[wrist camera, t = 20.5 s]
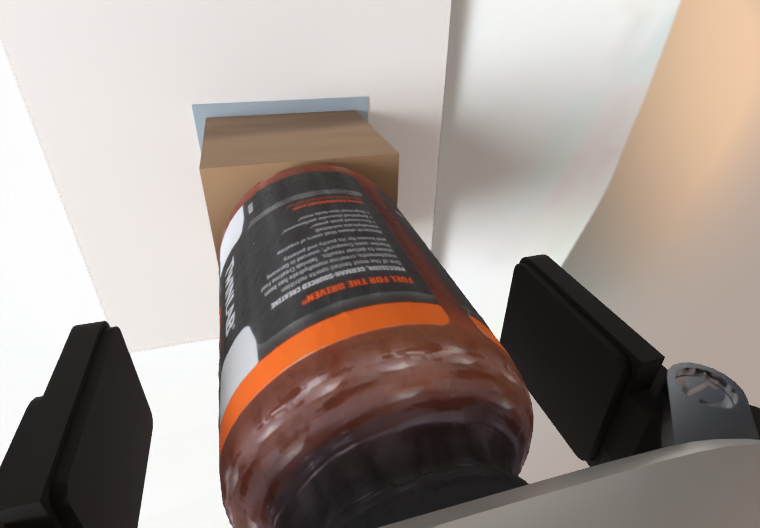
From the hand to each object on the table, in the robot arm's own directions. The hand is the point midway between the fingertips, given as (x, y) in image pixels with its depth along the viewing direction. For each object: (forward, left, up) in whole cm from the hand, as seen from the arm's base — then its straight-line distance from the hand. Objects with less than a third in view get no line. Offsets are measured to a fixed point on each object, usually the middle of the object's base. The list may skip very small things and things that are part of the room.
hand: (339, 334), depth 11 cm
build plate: (0, -1, -12) cm, 12 cm away
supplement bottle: (0, 0, -5) cm, 5 cm away
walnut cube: (0, 0, -11) cm, 11 cm away
